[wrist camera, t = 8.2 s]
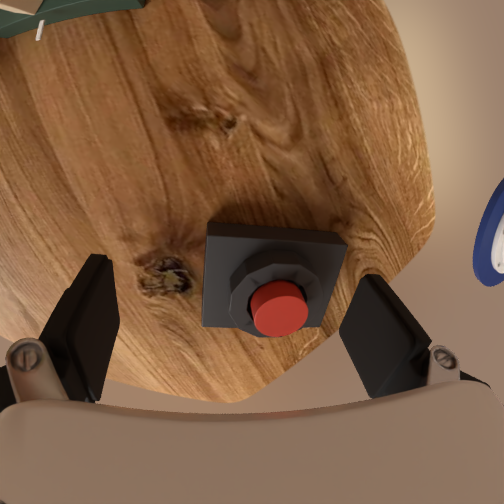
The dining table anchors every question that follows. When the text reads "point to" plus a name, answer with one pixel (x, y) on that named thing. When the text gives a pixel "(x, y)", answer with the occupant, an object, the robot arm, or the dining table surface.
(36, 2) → the beige rectangular block
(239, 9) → the dining table surface
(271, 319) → the button
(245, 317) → the control block
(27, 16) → the dial base
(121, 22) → the dining table surface
